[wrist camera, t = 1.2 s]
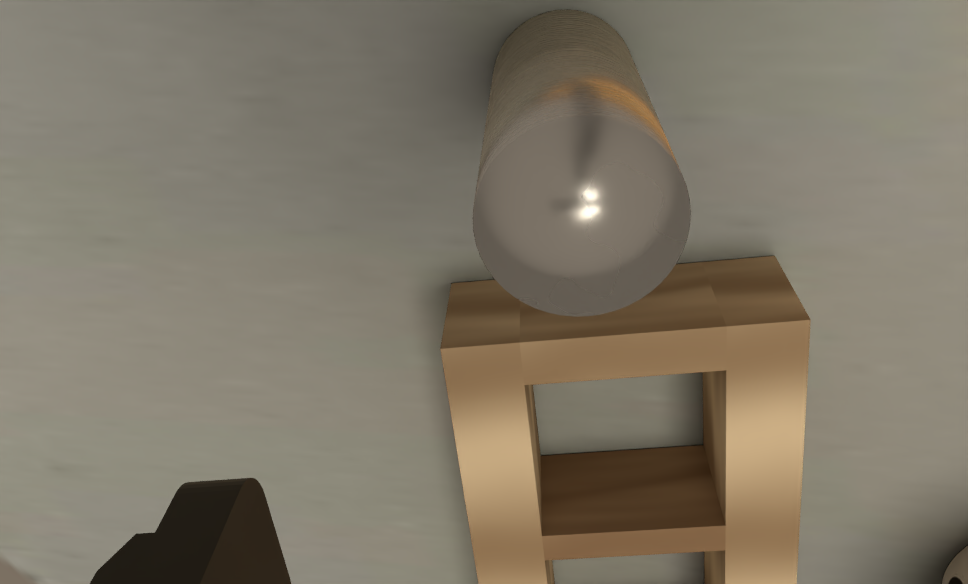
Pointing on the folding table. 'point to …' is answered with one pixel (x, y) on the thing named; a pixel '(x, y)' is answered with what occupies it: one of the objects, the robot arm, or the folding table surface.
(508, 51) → the grey rounded cylinder
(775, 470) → the frame
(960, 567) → the cup
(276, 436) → the folding table surface
